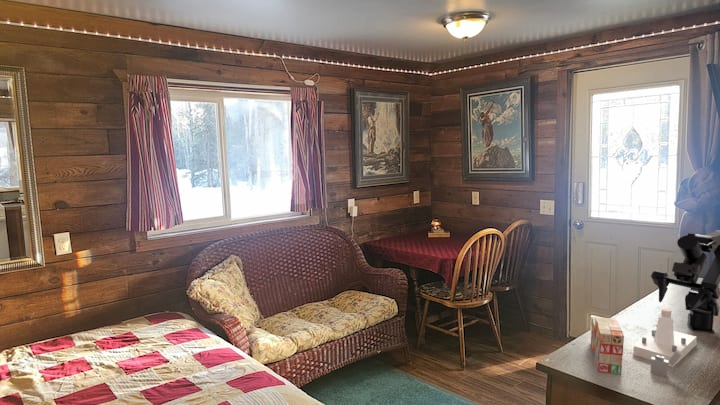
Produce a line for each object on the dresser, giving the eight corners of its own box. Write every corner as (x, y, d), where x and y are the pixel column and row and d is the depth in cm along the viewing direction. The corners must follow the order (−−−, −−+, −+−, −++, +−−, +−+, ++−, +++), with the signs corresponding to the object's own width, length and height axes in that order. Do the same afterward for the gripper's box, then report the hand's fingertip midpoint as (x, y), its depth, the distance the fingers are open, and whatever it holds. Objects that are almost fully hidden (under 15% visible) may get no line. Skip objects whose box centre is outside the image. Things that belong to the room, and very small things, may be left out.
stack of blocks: (590, 342, 160) (591, 307, 159) (611, 345, 158) (613, 309, 156) (597, 372, 140) (600, 332, 139) (621, 375, 138) (624, 335, 137)
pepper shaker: (654, 337, 156) (656, 305, 154) (674, 341, 153) (676, 308, 151) (653, 344, 151) (656, 310, 150) (674, 347, 148) (676, 313, 147)
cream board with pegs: (658, 335, 165) (659, 322, 164) (695, 345, 156) (697, 332, 156) (633, 354, 151) (634, 341, 150) (673, 367, 142) (674, 352, 142)
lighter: (650, 372, 139) (652, 346, 138) (651, 370, 141) (652, 344, 140) (679, 379, 135) (681, 353, 134) (679, 377, 136) (682, 350, 135)
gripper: (655, 247, 163) (638, 285, 158) (720, 259, 148) (703, 301, 143) (663, 265, 169) (647, 302, 164) (727, 278, 154) (710, 319, 149)
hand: (675, 305), depth 155 cm, fingers open, 9 cm apart
